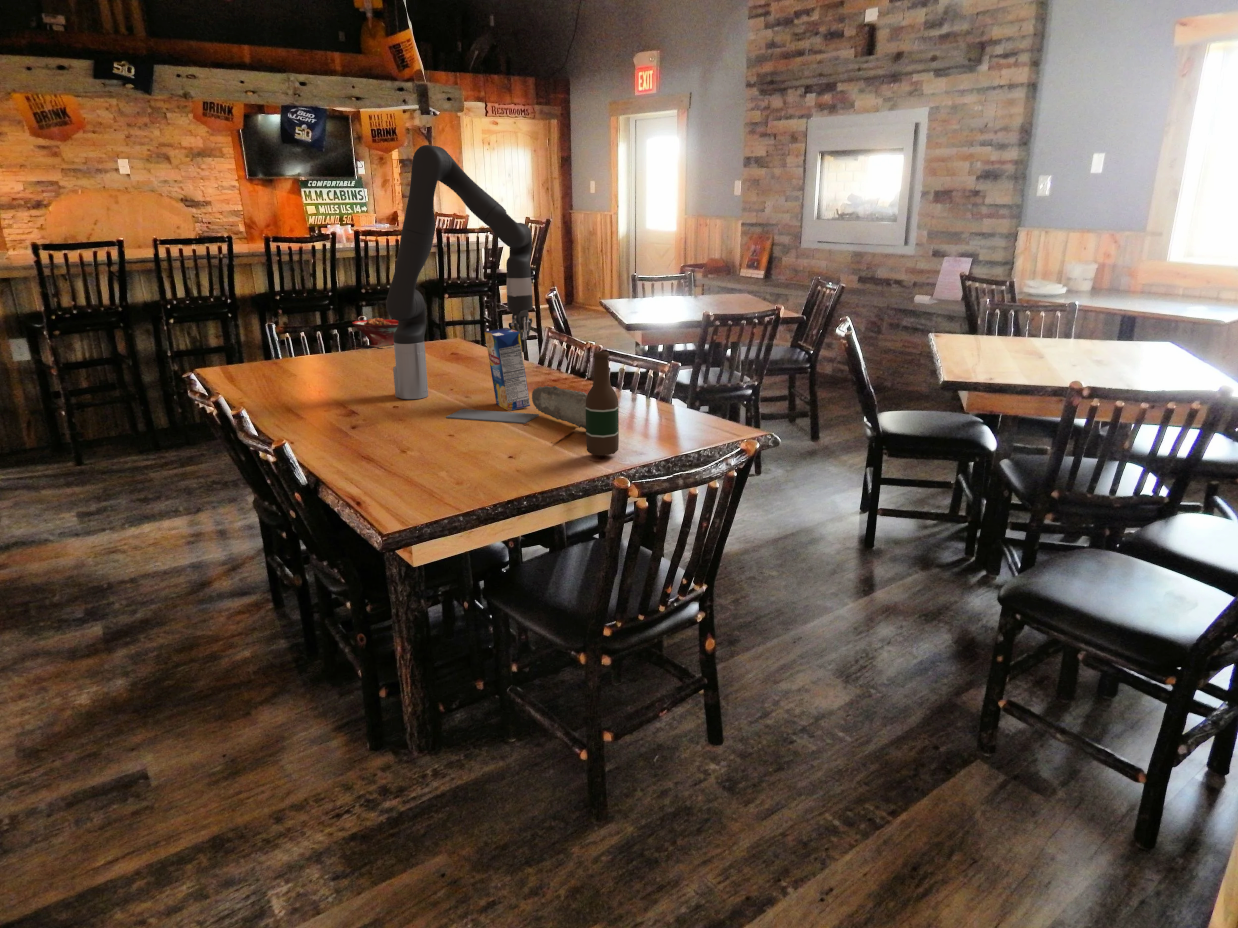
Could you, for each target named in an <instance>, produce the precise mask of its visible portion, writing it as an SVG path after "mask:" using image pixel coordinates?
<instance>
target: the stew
mask: <svg viewBox="0 0 1238 928" xmlns="http://www.w3.org/2000/svg"><path fill="white" fill-rule="evenodd" d="M351 323H352V325H353V326H354V327H355V328H356V329H357V330H358V331H359V332H361V333H362V334H363V335H364V336H365V338H367V339H368V340H369V341H370V342H371V343H370V344H365V345H363V344H360V343H358V342H360V340H357V343H356V346H357V347H356V346H353V347H352V348H354V349H361V350H368V349H369V350H372V349H379V350H380V349H381V350H382V348H383V347H386V348H387V349H394V340H393V334H394V332H395V331H396V329H397V327H398V321H397V320H394V319H384V318H379V317H374V318H368V319H362V320H355V321H352V322H351ZM392 345H393V346H392Z"/></svg>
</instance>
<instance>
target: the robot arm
mask: <svg viewBox="0 0 1238 928" xmlns="http://www.w3.org/2000/svg"><path fill="white" fill-rule="evenodd" d="M438 182H440V183H441V184H443V185H445V186H446V187H447V188H449V189H451V191H453V192H454V193H455V194H456V196H458V197H459V198H460V200H461V201H462V202H463V203H464V204H465V206H466V207H467V209H468V210H469V211H470V212H471V213H473V215H474V216H476V217H477V218H478V219H479V220H480V221H481V222H482V223H484V224H485V226H487V227H488V228H490V230H491V231H492V232H493V233H494V234H495V236H496V237H497V238H499V240H500V241H501V242H502V243H503V244H505V245H506V246H507V247H509V257H508V258H507V259H506V263H505V264H506V265H505V266H506V267H505V268H506V306H507V307H506V308H507V310H509V311H511V313H512V314H511V322H508V328H509V329H512V330H515V331H518V332H519V335H520V341H521V348H522V353H525V352H527V339H528V337H529V336H530V332H531V329H532V324H533V318H532V317H531V318H530V314H529V311H531V310H532V309H533V308H534V306H533V305H534V303H533V302H534V301H533V284H532V283H533V281H532V278H531V277H532V275H531V272H532V270H531V258H532V257H531V256H532V248H533V235H532V231H531V229H530V227H529V225H527V224H525V223H523V222H517V221H516V220H514V219H513V218H512V217H511V216H510V215H509V214H508V213H507V210H506V209H505V208H504V207H503V205H501V204H500V203H499V202H498V201H497V200H496V199H495V198H493V197H492V196H491V195H490V194H489V193H487V191H485V190H484V189H483V188H481V187H480V186H479V185H478V184H477V183H476V182H475V181H474V180H473V179H472V178H471V177H470V176H469V175H467V173H466V172H465V171H464V170H463V169H462V168H461V167H460V165H459V164H458V163H457V162H456V161H455V159H454V158H453V157H452V156H451V154H449V152H448V151H447V150H445V149H444V148H443V147H441V146H439V145H438V146H437V145H432V144H424V145H421V146H420V147H418V148H417V149H416V151H415V152H414V154H413V157H412V163H411V174H410V182H409V183H410V185H409V194H408V199H407V204H406V208H405V214H404V219H403V223H402V228H401V232H400V233H401V234H400V241H399V245H398V246H399V247H398V252H397V256H396V261H395V268H394V273H393V276H392V280H391V283H390V287H389V291H388V294H387V297H386V302H385V306H386V311H387V313H388V315H389V317H390V318H391V319H392V320H397V321H398V327H397V329H396V331H395V332H394V334H393V340H394V344H393V350H394V359H395V362H394V364H395V365H394V366H393V369H392V371H393V372H392V373H393V383H394V392H395V393H394V395H395V396H394V397H395V398H398V399H402V400H418V399H425V398H427V397H429V387H428V372H427V371H428V370H427V360H426V357H427V356H426V345H425V334H426V330H427V316H426V313H427V312H426V303H425V299H424V296H423V295H422V293H421V292H420V291H419V290H418V289H416V287H417V282H418V278H419V276H420V273H421V271H422V270H423V268H424V266H425V264H426V262H427V260H428V258H429V257H430V254H431V252H432V248H433V243H434V238H435V232H436V219H435V217H436V216H435V209H434V208H435V207H434V206H435V205H434V198H435V193H436V188H437V184H438Z"/></svg>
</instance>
